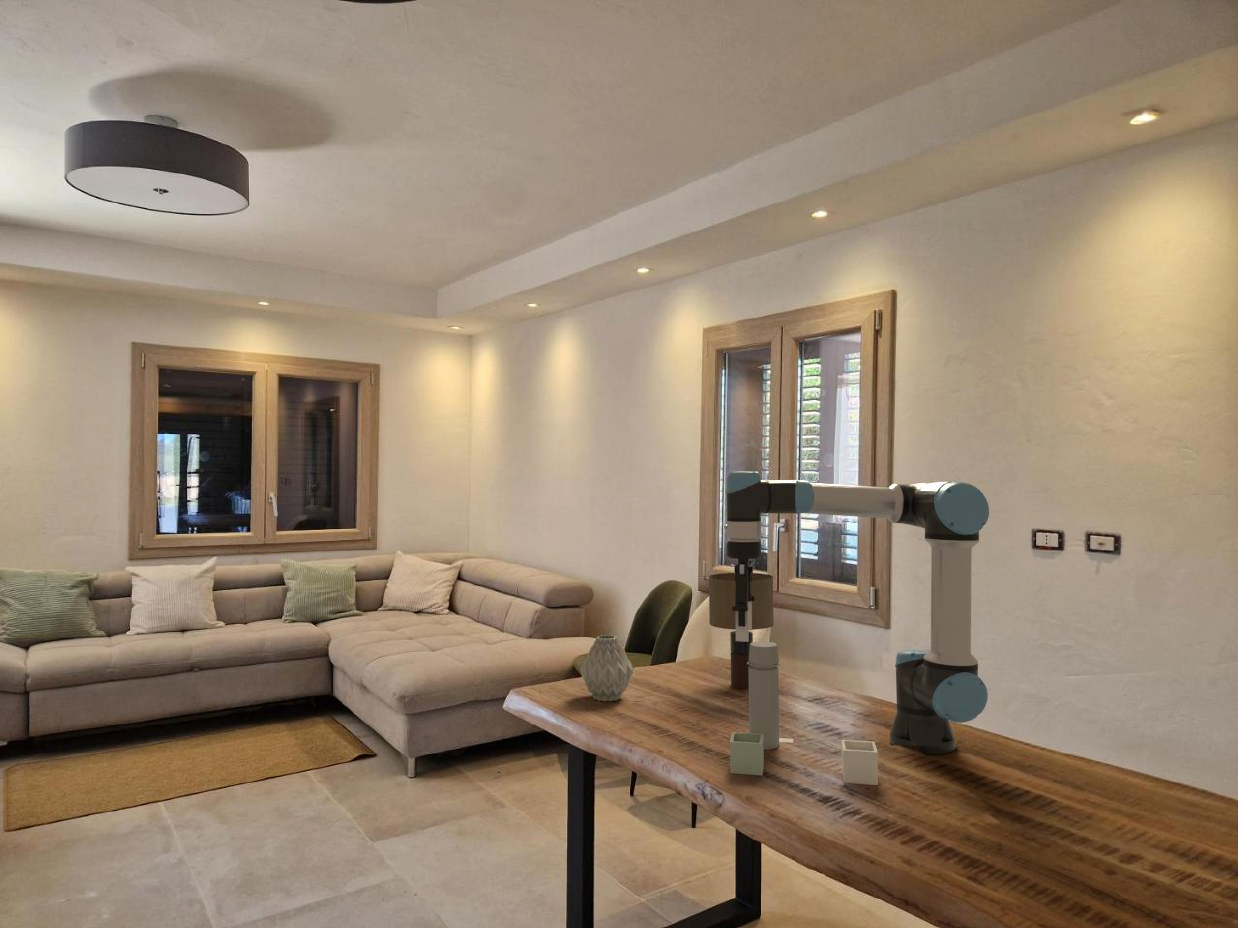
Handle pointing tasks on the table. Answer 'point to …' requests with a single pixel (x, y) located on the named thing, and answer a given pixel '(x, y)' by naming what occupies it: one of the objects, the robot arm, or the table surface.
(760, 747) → the sage open box
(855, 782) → the cream open box
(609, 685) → the vase
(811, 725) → the table surface
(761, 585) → the lamp
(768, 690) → the water bottle
